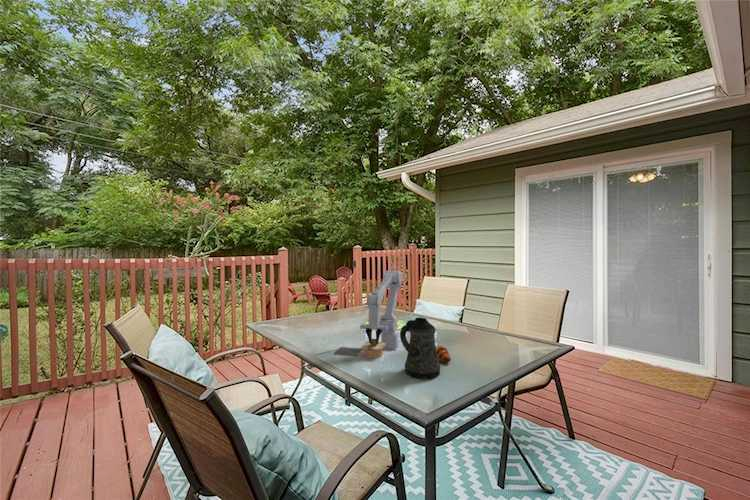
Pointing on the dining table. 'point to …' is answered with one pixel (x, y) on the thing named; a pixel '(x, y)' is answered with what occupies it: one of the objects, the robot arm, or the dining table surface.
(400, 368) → the dining table surface
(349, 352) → the mat
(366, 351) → the bowl
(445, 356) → the croissant
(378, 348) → the lid
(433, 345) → the beer stein
